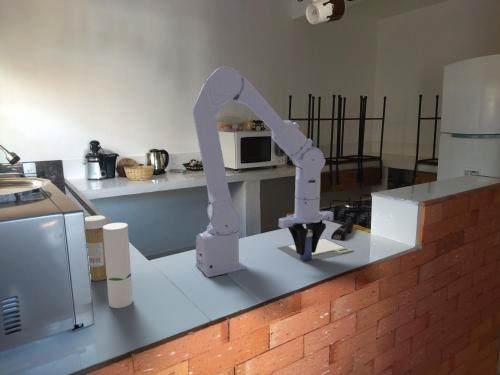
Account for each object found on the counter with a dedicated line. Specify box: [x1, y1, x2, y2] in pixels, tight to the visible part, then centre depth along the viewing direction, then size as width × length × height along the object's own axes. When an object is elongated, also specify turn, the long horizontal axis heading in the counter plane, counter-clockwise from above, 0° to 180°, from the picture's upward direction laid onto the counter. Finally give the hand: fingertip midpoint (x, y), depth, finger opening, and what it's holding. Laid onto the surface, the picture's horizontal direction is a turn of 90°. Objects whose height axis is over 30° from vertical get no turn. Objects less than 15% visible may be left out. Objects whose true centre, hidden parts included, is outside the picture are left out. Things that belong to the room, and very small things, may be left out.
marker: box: [300, 229, 313, 261], centre depth 92 cm, size 3×3×7 cm
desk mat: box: [276, 238, 356, 264], centre depth 99 cm, size 16×12×1 cm
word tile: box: [334, 246, 353, 254], centre depth 98 cm, size 4×2×1 cm, turn 118°
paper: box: [287, 238, 345, 256], centre depth 100 cm, size 12×8×1 cm, turn 119°
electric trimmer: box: [330, 218, 354, 242], centre depth 113 cm, size 4×16×3 cm, turn 152°
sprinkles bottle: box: [84, 215, 107, 282], centre depth 82 cm, size 5×5×14 cm
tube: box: [103, 222, 134, 309], centre depth 71 cm, size 4×4×15 cm
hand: (305, 252), depth 92 cm, fingers closed on marker, 3 cm apart
